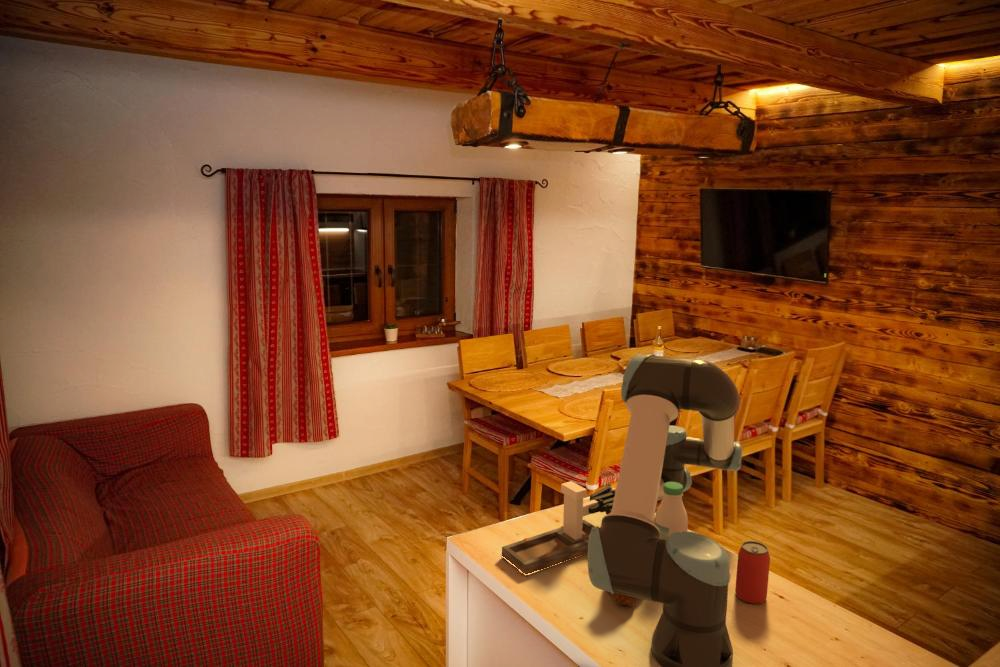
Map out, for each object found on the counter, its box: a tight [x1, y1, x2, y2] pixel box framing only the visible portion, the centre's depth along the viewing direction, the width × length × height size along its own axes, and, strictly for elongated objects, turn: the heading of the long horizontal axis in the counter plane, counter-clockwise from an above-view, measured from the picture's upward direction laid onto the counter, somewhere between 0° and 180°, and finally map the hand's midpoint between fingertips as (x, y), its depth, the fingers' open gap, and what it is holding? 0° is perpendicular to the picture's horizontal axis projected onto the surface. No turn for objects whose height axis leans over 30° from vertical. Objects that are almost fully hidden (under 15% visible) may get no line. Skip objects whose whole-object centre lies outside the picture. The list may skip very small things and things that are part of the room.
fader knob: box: [556, 480, 589, 546], centre depth 171 cm, size 5×7×14 cm
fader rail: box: [501, 519, 596, 574], centre depth 170 cm, size 26×10×3 cm, turn 124°
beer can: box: [734, 540, 771, 605], centre depth 151 cm, size 7×7×12 cm
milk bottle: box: [654, 482, 689, 540], centre depth 164 cm, size 8×8×20 cm
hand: (576, 511), depth 172 cm, fingers closed
